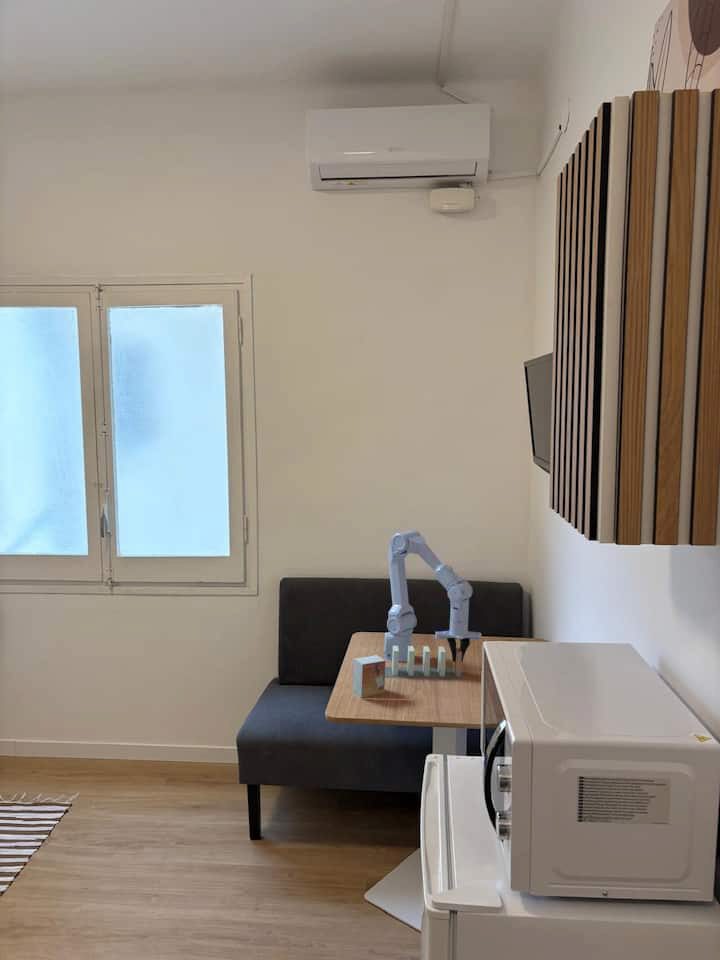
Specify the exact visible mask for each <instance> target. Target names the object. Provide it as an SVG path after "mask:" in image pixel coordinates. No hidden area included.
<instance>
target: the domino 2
mask: <svg viewBox="0 0 720 960" xmlns="http://www.w3.org/2000/svg"><path fill="white" fill-rule="evenodd" d="M406 663H407V665H406V667H407V671H408V675H409V676H414V668H415V648H414V645H412V646H408V662H406Z"/></svg>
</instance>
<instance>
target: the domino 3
mask: <svg viewBox="0 0 720 960" xmlns="http://www.w3.org/2000/svg"><path fill="white" fill-rule="evenodd" d="M430 664H431V650H430V647H429V645H425V646H424V645H423V649H422V668H423V673H424V676H429V671H430V668H431V667H430V666H431V665H430Z"/></svg>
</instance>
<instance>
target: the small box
mask: <svg viewBox="0 0 720 960" xmlns="http://www.w3.org/2000/svg"><path fill="white" fill-rule="evenodd" d="M385 667H386V661H385V659H383V658H382V657H381V656H379V655H377V654H375V655H370V656H365V657H355V658H354V659H353V679H352V680H353V683H352V692H354V693H355V694H356V695H357V696H358V697H359V698H360V699H364V698H368V697H374V696H378V695H379V696H380V695H383V694H385V684H386V678H385Z"/></svg>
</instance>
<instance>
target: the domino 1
mask: <svg viewBox="0 0 720 960" xmlns="http://www.w3.org/2000/svg"><path fill="white" fill-rule="evenodd" d="M399 663H400V661H399V649H398V646H393V653H392V661H391V667H392V672H393V675H398V667H399Z"/></svg>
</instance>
